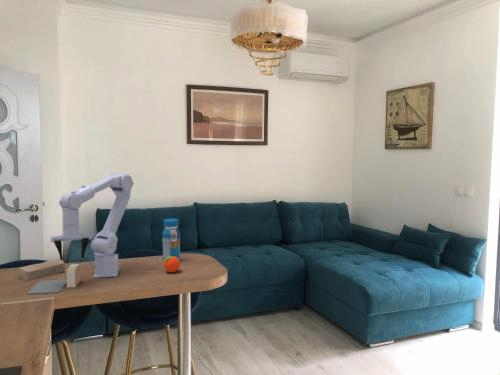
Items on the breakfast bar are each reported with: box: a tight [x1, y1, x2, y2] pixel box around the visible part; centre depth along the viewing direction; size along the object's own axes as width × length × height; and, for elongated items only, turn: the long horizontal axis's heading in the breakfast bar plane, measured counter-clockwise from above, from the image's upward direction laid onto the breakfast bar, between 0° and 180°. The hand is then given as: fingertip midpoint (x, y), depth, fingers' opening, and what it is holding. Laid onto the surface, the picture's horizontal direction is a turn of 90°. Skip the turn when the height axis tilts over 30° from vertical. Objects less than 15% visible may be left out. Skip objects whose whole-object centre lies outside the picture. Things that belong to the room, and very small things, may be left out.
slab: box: [65, 263, 81, 289], centre depth 165 cm, size 3×8×7 cm, turn 10°
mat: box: [27, 278, 67, 295], centre depth 162 cm, size 11×15×1 cm
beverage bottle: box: [161, 218, 181, 262], centre depth 200 cm, size 8×8×20 cm
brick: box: [17, 259, 66, 281], centre depth 178 cm, size 17×8×5 cm, turn 141°
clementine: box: [162, 256, 181, 273], centre depth 182 cm, size 8×7×7 cm
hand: (72, 258), depth 164 cm, fingers open, 7 cm apart
